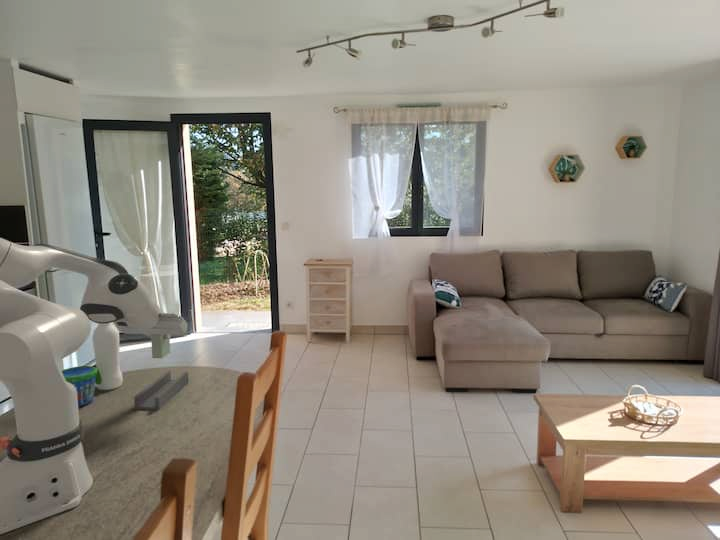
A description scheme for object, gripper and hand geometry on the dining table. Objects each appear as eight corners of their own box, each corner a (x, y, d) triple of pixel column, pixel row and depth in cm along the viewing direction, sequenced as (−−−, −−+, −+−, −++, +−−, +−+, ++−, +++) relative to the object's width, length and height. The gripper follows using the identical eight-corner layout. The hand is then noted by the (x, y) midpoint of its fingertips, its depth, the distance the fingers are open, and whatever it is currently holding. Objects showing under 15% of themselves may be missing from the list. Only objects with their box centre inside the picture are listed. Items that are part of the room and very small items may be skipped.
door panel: (161, 358, 149) (160, 327, 148) (152, 358, 149) (150, 327, 148) (170, 352, 155) (168, 322, 154) (161, 352, 155) (159, 322, 154)
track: (159, 409, 143) (158, 397, 143) (135, 409, 143) (134, 397, 143) (188, 382, 165) (188, 371, 164) (167, 381, 165) (167, 371, 165)
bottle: (98, 383, 164) (92, 297, 159) (124, 380, 166) (119, 296, 162) (93, 392, 156) (86, 302, 152) (120, 389, 158) (114, 300, 154)
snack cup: (90, 390, 157) (88, 361, 156) (113, 396, 153) (111, 365, 151) (43, 409, 143) (40, 377, 141) (67, 416, 139) (64, 382, 137)
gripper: (181, 305, 142) (195, 329, 154) (114, 304, 143) (133, 327, 154) (176, 324, 139) (190, 346, 150) (107, 322, 140) (127, 345, 151)
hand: (161, 337), depth 152 cm, fingers closed on door panel, 3 cm apart
